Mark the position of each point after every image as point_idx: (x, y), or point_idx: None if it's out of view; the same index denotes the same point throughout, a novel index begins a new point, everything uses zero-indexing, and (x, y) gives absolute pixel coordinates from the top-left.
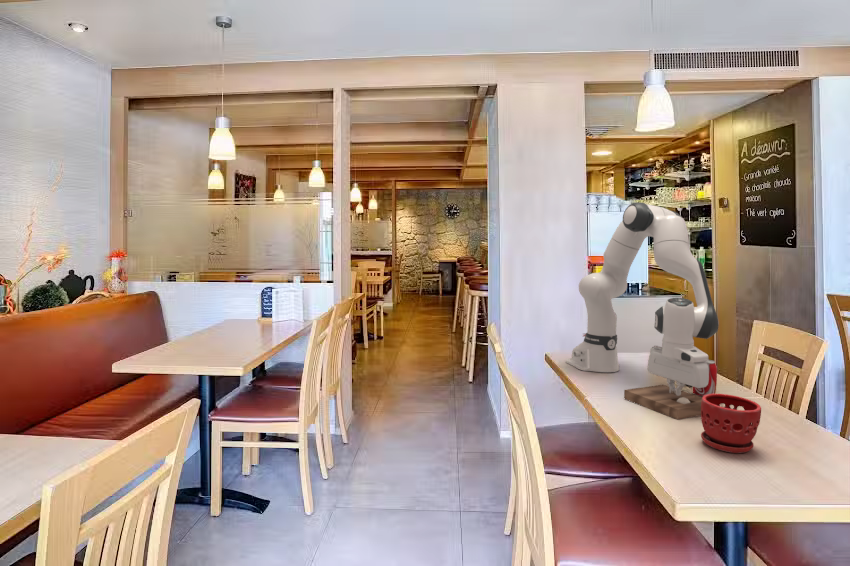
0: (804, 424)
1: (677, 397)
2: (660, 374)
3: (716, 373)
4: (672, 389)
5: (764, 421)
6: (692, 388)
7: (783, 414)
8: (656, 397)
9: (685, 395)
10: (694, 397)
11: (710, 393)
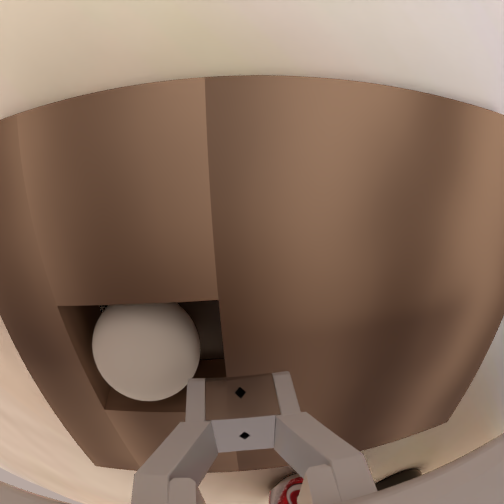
0: (21, 474)
1: None
2: (476, 476)
3: None
4: (255, 410)
5: (21, 445)
6: None
7: (90, 500)
8: (321, 207)
9: None
10: None
11: (271, 501)
